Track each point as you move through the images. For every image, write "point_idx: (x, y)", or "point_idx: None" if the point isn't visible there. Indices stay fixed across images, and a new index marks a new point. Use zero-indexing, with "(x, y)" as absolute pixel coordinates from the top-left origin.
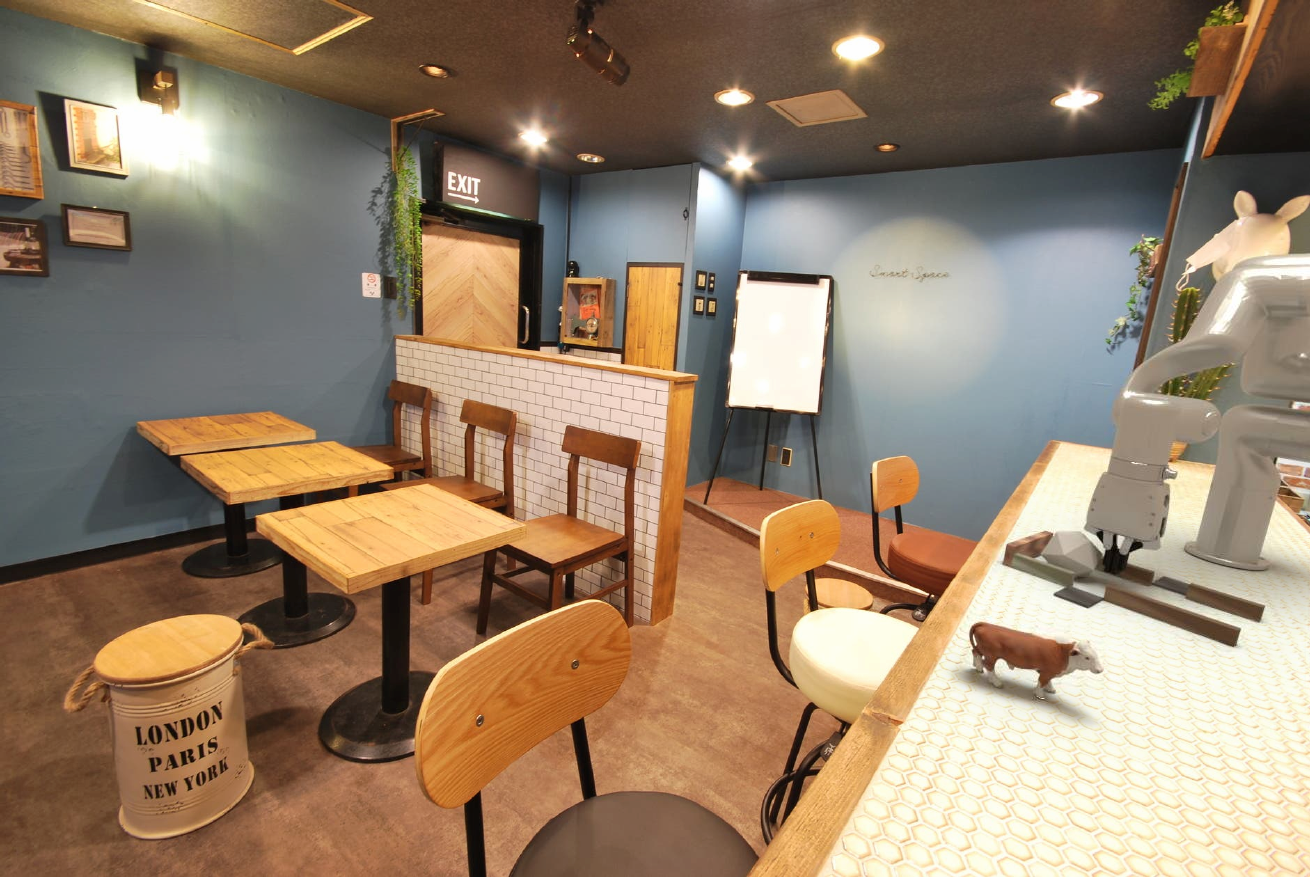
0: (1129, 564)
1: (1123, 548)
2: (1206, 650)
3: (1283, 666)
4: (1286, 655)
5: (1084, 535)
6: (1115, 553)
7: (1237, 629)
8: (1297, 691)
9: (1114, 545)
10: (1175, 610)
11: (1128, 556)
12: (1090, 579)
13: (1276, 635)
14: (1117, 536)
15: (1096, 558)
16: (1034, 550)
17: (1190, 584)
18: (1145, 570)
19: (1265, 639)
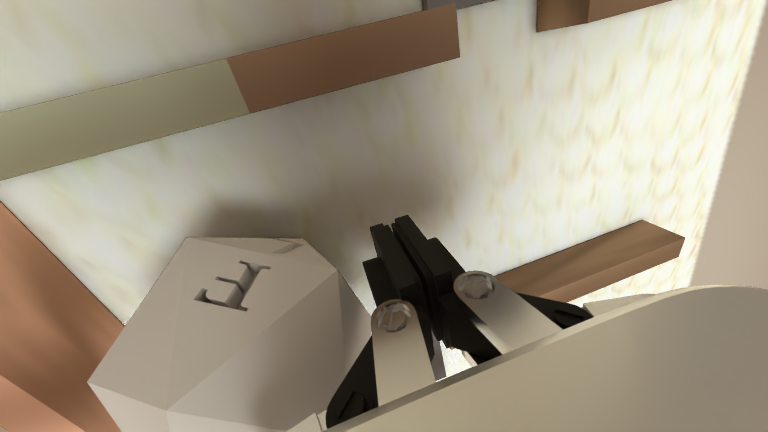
0: (346, 44)
1: (483, 357)
2: (604, 297)
3: (692, 222)
4: (708, 165)
5: (270, 430)
6: (440, 340)
7: (677, 251)
8: (689, 279)
9: (428, 352)
10: (583, 294)
11: (464, 272)
12: (324, 240)
13: (719, 55)
14: (430, 364)
15: (359, 323)
16: (73, 331)
17: (591, 7)
18: (427, 48)
19: (691, 121)
